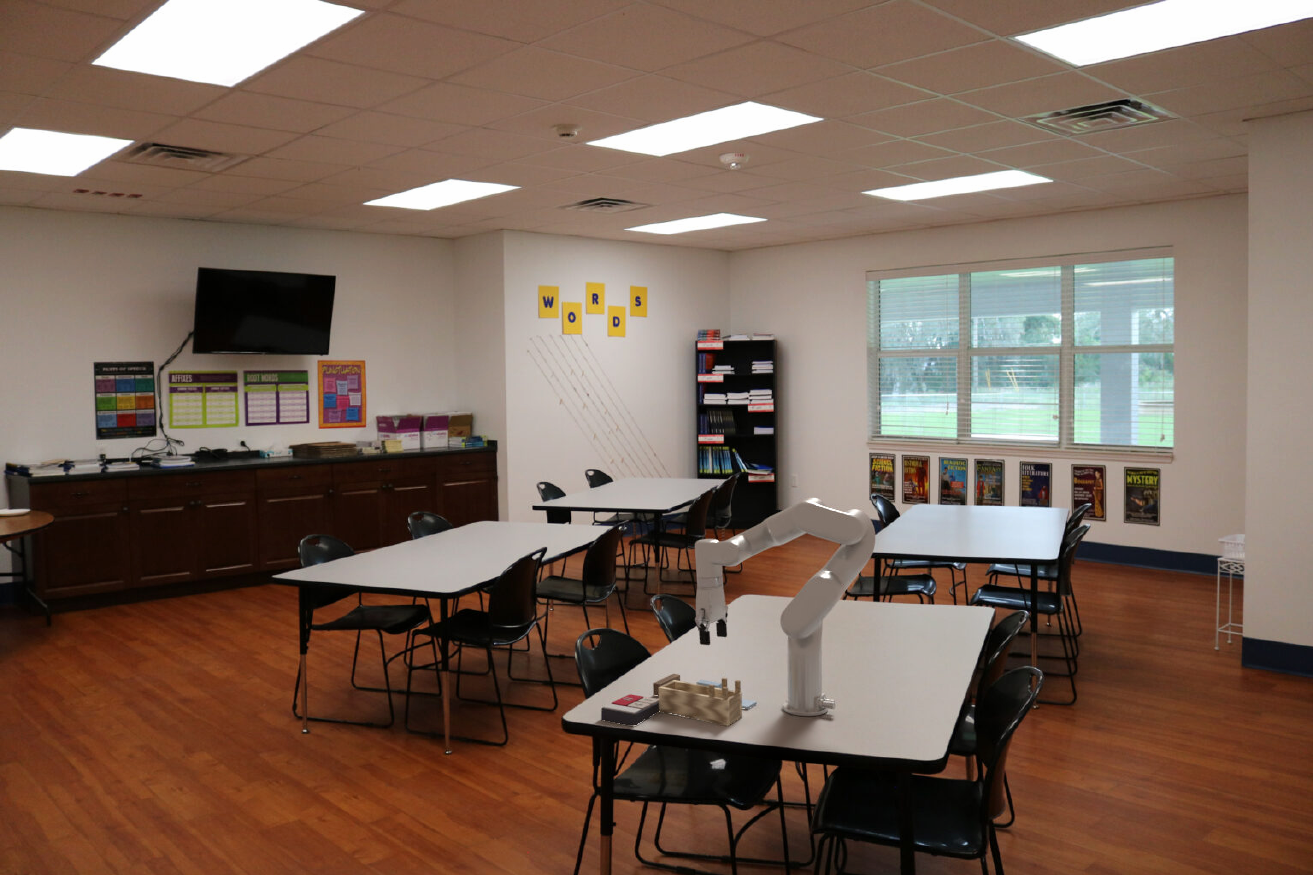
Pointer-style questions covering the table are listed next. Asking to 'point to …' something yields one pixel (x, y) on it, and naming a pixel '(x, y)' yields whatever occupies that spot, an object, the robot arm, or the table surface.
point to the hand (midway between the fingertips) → (713, 640)
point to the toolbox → (702, 701)
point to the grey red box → (630, 709)
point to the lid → (745, 703)
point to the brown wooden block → (664, 682)
